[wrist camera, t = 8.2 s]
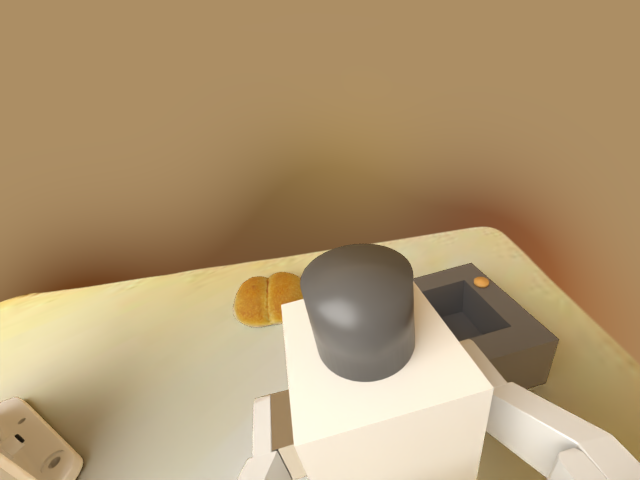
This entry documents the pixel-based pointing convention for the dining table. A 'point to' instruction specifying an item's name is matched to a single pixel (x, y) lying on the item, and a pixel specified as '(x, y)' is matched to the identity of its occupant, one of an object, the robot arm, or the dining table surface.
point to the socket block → (491, 323)
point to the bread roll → (265, 299)
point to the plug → (379, 375)
